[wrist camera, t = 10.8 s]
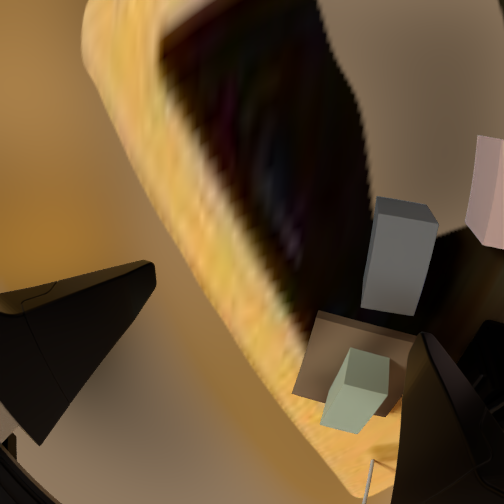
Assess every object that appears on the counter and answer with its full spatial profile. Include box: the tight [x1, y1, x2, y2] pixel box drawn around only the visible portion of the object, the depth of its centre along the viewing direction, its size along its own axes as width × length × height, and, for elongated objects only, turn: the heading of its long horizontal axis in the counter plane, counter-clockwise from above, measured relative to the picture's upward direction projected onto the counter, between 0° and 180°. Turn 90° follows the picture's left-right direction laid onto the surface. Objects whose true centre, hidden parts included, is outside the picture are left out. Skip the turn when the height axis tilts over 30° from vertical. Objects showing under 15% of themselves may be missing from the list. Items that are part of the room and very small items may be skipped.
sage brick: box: [320, 347, 390, 434], centre depth 22 cm, size 4×6×4 cm, turn 172°
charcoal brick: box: [361, 196, 439, 316], centre depth 17 cm, size 4×6×4 cm, turn 0°
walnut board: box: [292, 310, 417, 417], centre depth 24 cm, size 10×10×1 cm
